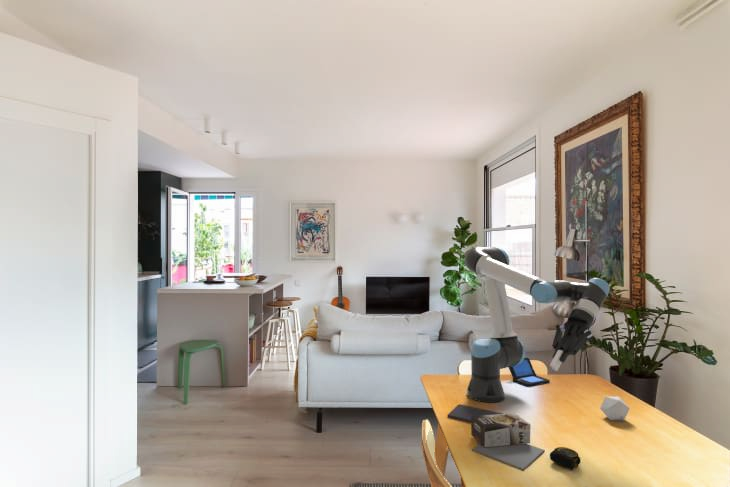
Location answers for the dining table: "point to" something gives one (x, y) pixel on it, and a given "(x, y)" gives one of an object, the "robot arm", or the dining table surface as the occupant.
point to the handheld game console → (526, 374)
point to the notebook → (468, 413)
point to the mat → (511, 454)
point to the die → (614, 408)
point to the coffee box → (500, 430)
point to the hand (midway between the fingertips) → (553, 367)
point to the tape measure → (565, 457)
